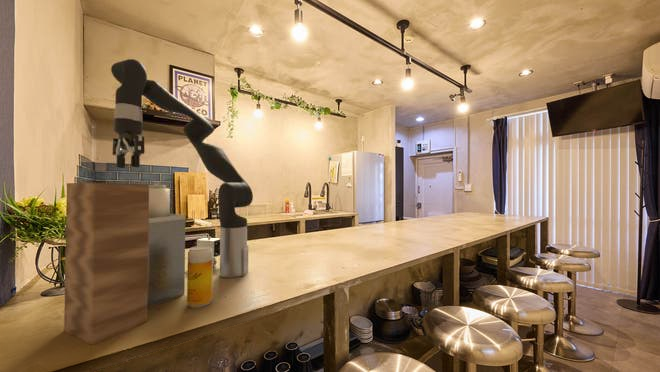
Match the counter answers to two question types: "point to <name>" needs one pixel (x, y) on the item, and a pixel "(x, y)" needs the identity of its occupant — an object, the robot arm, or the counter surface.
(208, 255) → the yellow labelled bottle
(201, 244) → the pneumatic valve
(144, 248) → the tall wooden block
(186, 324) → the counter surface
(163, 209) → the white plastic container
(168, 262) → the tall grey upright block
